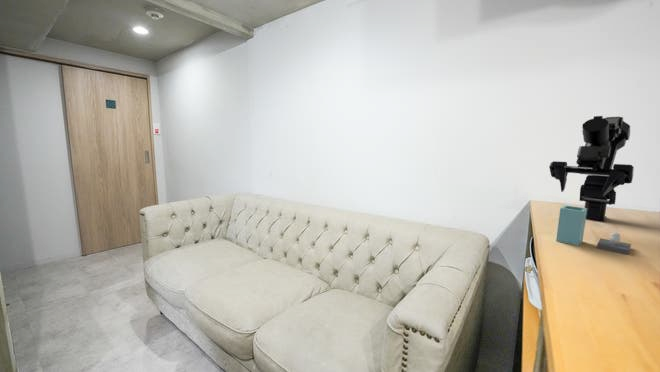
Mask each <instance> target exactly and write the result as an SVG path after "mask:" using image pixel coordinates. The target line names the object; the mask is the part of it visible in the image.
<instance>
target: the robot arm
mask: <svg viewBox="0 0 660 372" xmlns="http://www.w3.org/2000/svg"><path fill="white" fill-rule="evenodd" d="M630 135H631V125H630V124H629V123H627V122H625V121H624V116H607V117H604V116H603V115H596V116H593V118H591V119H588V120H586V121H585V122H583V123H582V137H583V142H584V143H585V144H584V145H580V146H579V147H578V151H577V154H576V155H577V156H576V158H577V159H576V165H577V166H576V165H568V163H567V161H559V160H558V161H557V160H556V161H555V160H554V161H552V162H550V165H549V172H550V176H551V178H555V180H558V181H559V182H560V183H559V184H560V192H562V193H563V192H564V191H565V188H566V186H567V185H566V184H567V179H568V173H570V174H579V175H586V177H585V180H584V183H583V184H581V185H580V189H579V202H584V207H583V208H587V214H586V220H592V221H600V222H606V221H607V218H608V217H607V216H606V212H607V211H606V210H607V205H609V206H610V205H615V204H616V199H617V198H616V197H617V191H615V188H616V187H618V186H624V185H625V184H631V183H633V178H634V168H635V167H634V166H633V164H626V163H625V164H621V163H615V159H616V154H617V152H618V150H620V149H622V148H624V147H625V145H626V142H627V141H629V140H630Z"/></svg>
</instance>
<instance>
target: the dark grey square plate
mask: <svg viewBox="0 0 660 372" xmlns="http://www.w3.org/2000/svg"><path fill="white" fill-rule="evenodd" d="M609 238H610V239H608V238H607V239H606V238H601V237H600V238H599V240H598V242H597V245H596V248H597V249H601V250H604V251H609V252H610V251H611V252H615V253H618V254H619V253H620V254H623V255H624V254H625V255H628V256H629V255H630V250H631V247H632V246H631V245H632V243H627V242H622V241H620V240H621V234H620V233H619V232H616V231H614V232H612V233H610V237H609Z"/></svg>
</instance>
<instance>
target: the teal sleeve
mask: <svg viewBox="0 0 660 372" xmlns="http://www.w3.org/2000/svg"><path fill="white" fill-rule="evenodd" d="M586 214H587V208H584V207H582V206H580V207H579V206H574V205H573V206H572V205H568V204H567V205H562V207H560V209H559V216H558V224H557V232H556V237H555V238H556V240H555V241H556V242H560V243H565V244H568V245H572V246H577V247H578V246H580V245H581V243H582V242H584V241H583V240H584V234H585V227H586V222H587V221H586V220H587V219H586Z"/></svg>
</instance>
